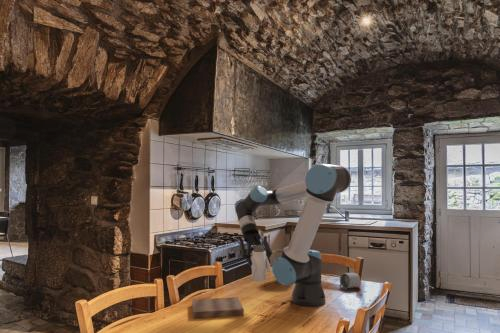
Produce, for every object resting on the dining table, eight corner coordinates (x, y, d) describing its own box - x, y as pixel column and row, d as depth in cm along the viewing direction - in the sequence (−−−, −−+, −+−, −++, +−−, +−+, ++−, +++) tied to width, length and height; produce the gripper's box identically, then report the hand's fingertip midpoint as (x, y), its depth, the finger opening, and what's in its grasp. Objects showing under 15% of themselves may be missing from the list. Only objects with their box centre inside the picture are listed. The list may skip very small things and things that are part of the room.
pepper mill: (264, 277, 157) (264, 243, 157) (267, 280, 151) (267, 245, 152) (250, 277, 156) (250, 243, 156) (253, 281, 150) (253, 246, 150)
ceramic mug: (361, 288, 182) (361, 273, 183) (349, 290, 179) (349, 274, 179) (347, 283, 192) (347, 269, 192) (335, 285, 188) (335, 270, 189)
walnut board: (237, 302, 159) (237, 297, 159) (243, 315, 143) (243, 309, 143) (192, 305, 155) (192, 299, 155) (193, 318, 140) (193, 312, 140)
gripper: (265, 231, 172) (279, 274, 156) (227, 233, 165) (238, 277, 149) (269, 221, 167) (285, 264, 151) (231, 223, 161) (242, 267, 144)
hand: (262, 270), depth 150 cm, fingers closed on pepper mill, 6 cm apart
